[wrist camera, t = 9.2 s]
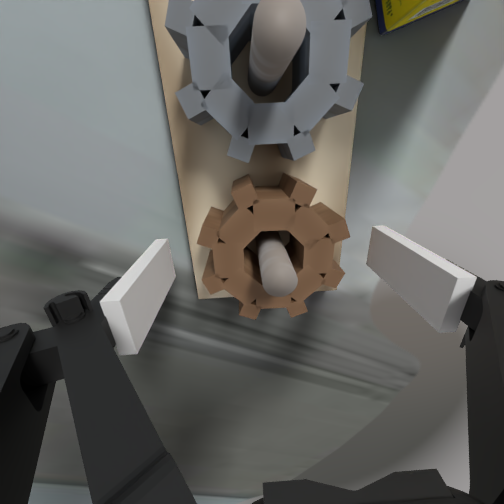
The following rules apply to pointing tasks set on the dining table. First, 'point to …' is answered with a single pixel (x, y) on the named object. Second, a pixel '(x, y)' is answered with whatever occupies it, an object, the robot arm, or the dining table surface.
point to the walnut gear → (271, 219)
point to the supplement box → (406, 12)
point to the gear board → (264, 161)
